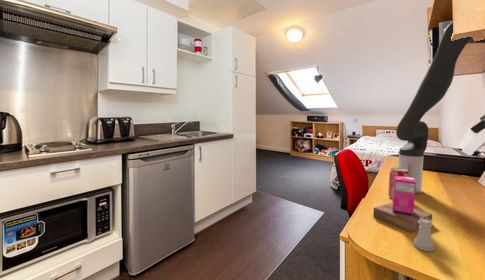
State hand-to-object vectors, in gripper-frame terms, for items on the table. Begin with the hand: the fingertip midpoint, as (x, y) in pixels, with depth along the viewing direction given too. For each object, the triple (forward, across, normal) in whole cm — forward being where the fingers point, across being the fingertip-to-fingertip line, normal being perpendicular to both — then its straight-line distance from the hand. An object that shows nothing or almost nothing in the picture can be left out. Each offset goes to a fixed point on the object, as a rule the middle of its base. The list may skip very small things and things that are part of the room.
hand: (480, 132), depth 69 cm
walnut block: (+36, +4, +8) cm, 37 cm away
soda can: (+33, -20, +10) cm, 40 cm away
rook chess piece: (+35, +20, +9) cm, 41 cm away
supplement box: (+33, +4, +5) cm, 34 cm away
